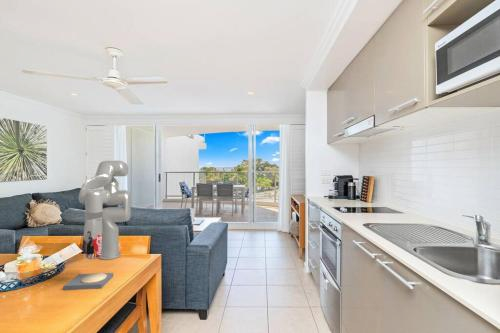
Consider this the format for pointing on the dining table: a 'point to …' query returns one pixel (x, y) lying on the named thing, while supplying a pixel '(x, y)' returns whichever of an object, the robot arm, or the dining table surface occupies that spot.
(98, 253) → the soda can
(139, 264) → the dining table surface
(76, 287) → the serving board
